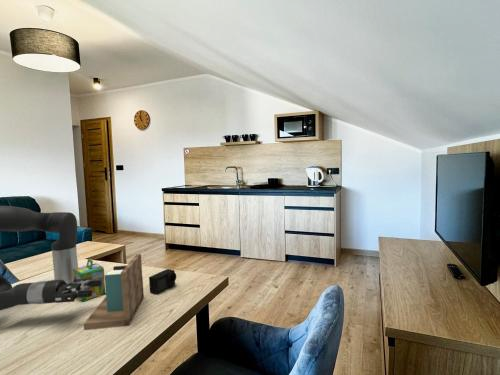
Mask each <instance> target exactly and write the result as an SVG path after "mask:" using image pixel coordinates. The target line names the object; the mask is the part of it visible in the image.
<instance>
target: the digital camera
mask: <svg viewBox="0 0 500 375" xmlns="http://www.w3.org/2000/svg"><path fill="white" fill-rule="evenodd" d="M175 271H176V270H175V269H170V268H166V269H163V270H162V271H160V272H157V273H155V274H152V275H150V276H149V277H148V283H149V285H148V286H149V293H150V294H152V295H156V296H158V295H159V294H161V293H164V292H166V291H167V290H170V289H171V288H173V287H175V286H176V281H177V280H176V279H177V274H176V273H175Z"/></svg>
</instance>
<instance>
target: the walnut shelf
mask: <svg viewBox="0 0 500 375" xmlns="http://www.w3.org/2000/svg"><path fill="white" fill-rule="evenodd" d="M142 266H143V265H142V254H141V253H136V255H135V256H134V257H133V258H132V259H131V261H129V263H128V264H127V265H115V266H113V270H123V271H122V272H121V284H122V298H123V310H121V311H110V312H107V301H106V296H105V297H104V299H103V300H101V302H100V303H99V304H98V306H97V307H96V308H95V309H94V310H93V312H92V313H91V314H90V315H89V317H88V318H87V319H86V320H85V322H84V323H83V329H84V330H94V329H95V330H96V329H104V328H113V327H114V328H115V327H123V326H124V327H125V326H130V325H131V323H132V321H133V319H134V317H135V315H136V313H137V311H138V310H139V308H140V306H141V304H142V302H143V300H144V297H145V296H144V281H143V280H144V279H143V267H142Z"/></svg>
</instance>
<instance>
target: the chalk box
mask: <svg viewBox="0 0 500 375" xmlns="http://www.w3.org/2000/svg"><path fill="white" fill-rule="evenodd" d="M93 262H94V260H93V259H90V258H87V263H86V265H83V266H78V268H75V269H73V279H74V280H75V279H84V278H91V280H101V281H102V285H101V286H98V287H88V288H85V289H84V290H92V296H91V297H83V298H80V297H79V299H78V300H79V301H81V302H82V303H84V302H85V301H88V300H92V299H94V298H98V297H100V296H103V295H106V288H105V268H104V266H102V265H101V264H98V263H93ZM80 288H81V286H80Z"/></svg>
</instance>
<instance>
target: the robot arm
mask: <svg viewBox="0 0 500 375" xmlns="http://www.w3.org/2000/svg"><path fill="white" fill-rule="evenodd" d="M29 231H41V232H46V233H52V234H58V235H59V237H58V240H55V241H53V242H52V243H51V246H50V247H51V254H52V255H51V256H52V257H51V258H52V265H53V266H52V268H53V280H41V281H40V280H39V281H34V282H25V283H19V284H16V285H14V286H13V285H12V283H11V282H10V281H9V280H8V279H6V278H5V276H3V275H2V274H1V273H0V311H3V310H8V309H11V308H13V307H15V306H24V305H45V304H54V303H55V304H56V303H57V304H59V303H74V302H75V301H76V300H80V299H79V297H80V298H83V297H91V296H92V290H84V289H85V288H88V287H98V286H101V285H102V281H101V280H91V278H84V279H75V280H74V279H73V269H75V268H79V262H78V254H77V253H78V251H77V241H78V220H77V217H76V215H75V214H74V213H72V212H68V211H67V212H66V211H64V212H60V211H57V212H37V211H34V210H32V209H29V208H25V207H21V206H20V207H19V206H12V205H0V232H29ZM80 286H81V288H80Z"/></svg>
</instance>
